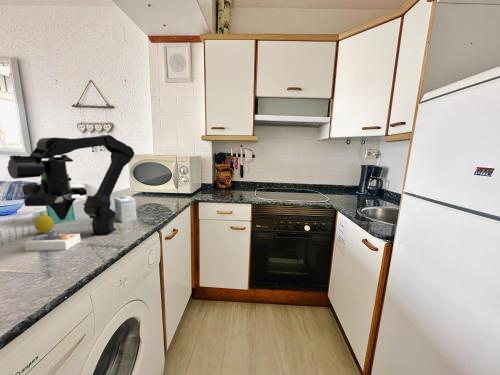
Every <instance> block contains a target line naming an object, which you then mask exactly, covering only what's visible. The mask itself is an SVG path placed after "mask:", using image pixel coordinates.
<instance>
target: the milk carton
mask: <svg viewBox="0 0 500 375" xmlns="http://www.w3.org/2000/svg"><path fill="white" fill-rule="evenodd" d="M67 176H68V178H70V175H69V173H67ZM40 178H41V179H45V176H44V174H41V176H40ZM68 183H69V188H71V184H70V183H71V181H68ZM71 196H72V197H73V195H71ZM55 197H56V196H55ZM45 209H46V215H47V216H50V217H51V218H52V220H53V222H54V225H56V223H57V224H62V223H67V222H66V221H68V222H72V220H74V221H76V220H75V218H76V216H75V211H74V203H73V204H72V206H71V207H70V209H69V212H68V214H67V216H66V218H65V219H64V220H60V219H59V218H58V216H57V215H56V213H55V212H54V210H53V209H52V208H51V207H50V206H48V205H47V206H45ZM61 222H62V223H61Z"/></svg>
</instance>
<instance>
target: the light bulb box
mask: <svg viewBox="0 0 500 375" xmlns="http://www.w3.org/2000/svg"><path fill="white" fill-rule="evenodd" d="M113 199H114V200H113V201H114V209H115V211H114V212H116V216H115V218H116V219H117V220H118V221H120V223H128V222H132V221H137V219H138V218H137V206H136V205H137V204H136V198H135V197H131V196H130V195H126V196H125V195H124V196H118V197H114V198H113Z"/></svg>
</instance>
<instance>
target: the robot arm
mask: <svg viewBox="0 0 500 375" xmlns="http://www.w3.org/2000/svg"><path fill="white" fill-rule="evenodd" d="M100 146H101V147H104V148H105V149H106V151H108V152H109V153H110V164H109V166H108V168H107V171H106V172H105V175H104V177H103V179H102V181H101V183H100V185H99V187H98V188H97V191H96V193H95V194H93V195H88V196H87V197H86V200H85V202H84V203H83V204H82V205H83V212H84V213H85V215H87V216H89V218H90V219H92V222H91V226H92V233H91V236H108V235H110V234H111V233H113V232H115V231H116V230H117V228H116V227H115V225H114V219H115V218H116V212H115V211H114V210H112V209H111V204H112V203H111V195H112V193H113V191H114V189H115V187H116V184H117V182H118V180H119V178H120V176H121V174H122V171H123V170H124V167H125V166H126V165H127V164H129V163H130V162H131V161H132V159H133V158H134V156H135V151H134V149H133V147H131V146H130V145H127V144H126V143H124V142H123V141H121V140H118V139H117V138H115V137H114V136H112V135H110V134H102V135H97V136H87V137H77V138H70V137H69V138H68V137H67V138H66V137H42V138H40V139H38V141H37V143H36V147H35V149H34V150H33V151H32V152H31V153H30V154H29V155H9V160H8V163H7V164H8V165H7V167H6V168H7V172H8V174H9V176H10V177H11V178H12V179H14V180H15V179H28V178H39V177H40V178H41V174H44V176H45V179H41V180H40V184H35V185H34V184H33V183H29V184H24V185H22V192H23V194H24V195H25V196H26V197H25V198H24V199H23V203H24V207H46V206H47V205H48V206H50V207H51V208H52V209H53V210H54V212H55V213H56V215H57V216H58V218H59V219H60V220H64V219H65V218H66V216H67V214H68V212H69V209H70V207H71V206H72V204H73V205H74V202H75V201H76V200H77V198H76V197H73V195H76V196H77V195H79V196H86V195H87V189H86V188H85V187H83V186H81V187H80V186H79V187H76V186H75V187H72V186H70V188H69V183H68V181H70V182H71V181H72V177H69V178H68V176H67V174H68V170H67V163H69V162H71V163H72V162H73V161H74V160H73V159H72V158H70V157H69V156H68V153H71V152H72V153H73V151H75V150H80V149H86V148H93V147H94V148H95V147H100ZM42 159H43V160H42ZM46 159H47V160H46ZM71 195H72V196H71ZM55 196H56V197H55Z"/></svg>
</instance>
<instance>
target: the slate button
mask: <svg viewBox="0 0 500 375" xmlns="http://www.w3.org/2000/svg"><path fill="white" fill-rule="evenodd" d="M34 238H35V240H43V239H46V238H47V233H46V234H45V233H41V234H37V235H35V236H34Z"/></svg>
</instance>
